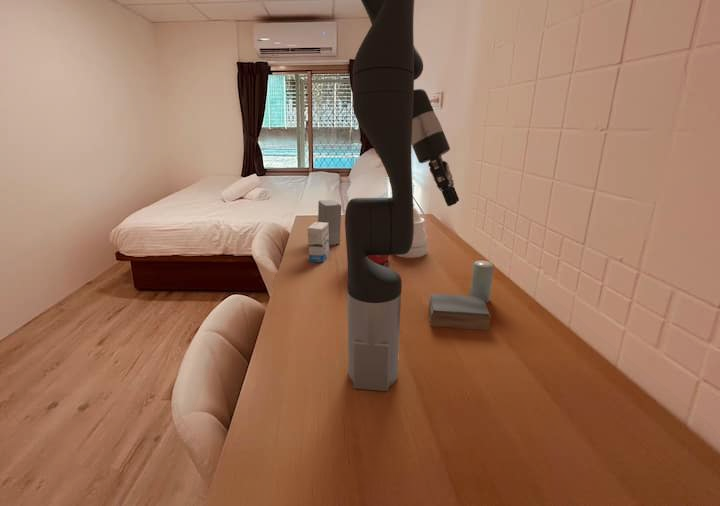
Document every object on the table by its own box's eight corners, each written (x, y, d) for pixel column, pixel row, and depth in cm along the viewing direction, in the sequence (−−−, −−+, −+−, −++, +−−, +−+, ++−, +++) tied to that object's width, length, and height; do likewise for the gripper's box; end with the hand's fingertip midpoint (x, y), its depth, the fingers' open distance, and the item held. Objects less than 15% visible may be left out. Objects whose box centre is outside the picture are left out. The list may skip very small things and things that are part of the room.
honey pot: (426, 258, 126) (430, 206, 120) (388, 256, 128) (390, 205, 122) (426, 246, 138) (429, 198, 132) (391, 244, 140) (393, 197, 134)
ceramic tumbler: (491, 304, 95) (496, 268, 92) (471, 302, 96) (475, 267, 93) (487, 295, 100) (492, 260, 97) (468, 294, 101) (472, 259, 97)
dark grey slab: (488, 330, 84) (491, 314, 82) (430, 326, 85) (431, 310, 84) (481, 310, 92) (483, 296, 91) (428, 307, 94) (429, 293, 92)
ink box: (322, 263, 122) (321, 229, 118) (308, 262, 123) (306, 228, 119) (330, 254, 130) (329, 222, 126) (316, 253, 131) (315, 221, 127)
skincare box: (317, 240, 144) (315, 200, 139) (334, 238, 147) (333, 198, 142) (324, 247, 137) (323, 205, 132) (342, 244, 140) (341, 203, 135)
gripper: (439, 125, 76) (469, 198, 77) (445, 133, 89) (470, 195, 90) (406, 142, 79) (435, 212, 80) (416, 147, 92) (441, 207, 93)
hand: (454, 203), depth 85 cm, fingers open, 8 cm apart
